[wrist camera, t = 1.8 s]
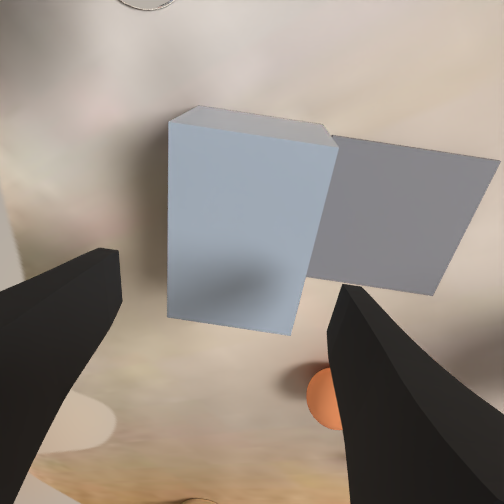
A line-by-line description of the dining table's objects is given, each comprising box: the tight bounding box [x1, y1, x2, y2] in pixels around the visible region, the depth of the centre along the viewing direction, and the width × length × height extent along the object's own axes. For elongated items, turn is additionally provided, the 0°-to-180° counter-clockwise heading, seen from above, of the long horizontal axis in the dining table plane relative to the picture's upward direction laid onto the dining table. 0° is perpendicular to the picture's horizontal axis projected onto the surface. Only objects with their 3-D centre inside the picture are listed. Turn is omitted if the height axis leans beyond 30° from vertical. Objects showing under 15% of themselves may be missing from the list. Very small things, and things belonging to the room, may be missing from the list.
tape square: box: [306, 135, 501, 296], centre depth 18 cm, size 8×8×1 cm
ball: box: [306, 368, 343, 430], centre depth 22 cm, size 4×4×4 cm
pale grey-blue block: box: [167, 106, 339, 336], centre depth 16 cm, size 9×6×5 cm
